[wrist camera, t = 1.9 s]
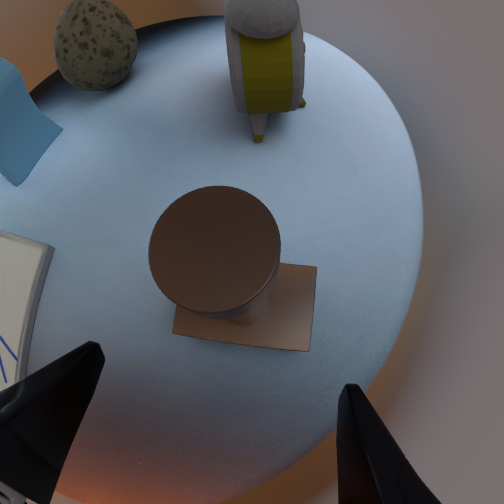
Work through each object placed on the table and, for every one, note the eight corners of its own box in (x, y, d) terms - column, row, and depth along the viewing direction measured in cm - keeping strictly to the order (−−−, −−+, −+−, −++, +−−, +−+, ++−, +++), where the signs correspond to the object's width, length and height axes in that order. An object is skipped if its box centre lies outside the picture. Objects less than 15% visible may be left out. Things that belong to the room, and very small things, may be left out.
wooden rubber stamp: (301, 350, 20) (358, 357, 6) (191, 336, 20) (70, 311, 7) (308, 282, 21) (361, 178, 8) (202, 271, 22) (113, 164, 9)
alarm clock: (238, 77, 29) (222, -37, 15) (297, 74, 29) (300, -40, 14) (241, 152, 25) (216, 0, 11) (316, 148, 25) (338, -2, 11)
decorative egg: (160, 74, 31) (126, -20, 16) (89, 120, 29) (33, 34, 15) (134, 52, 34) (104, -22, 20) (75, 90, 32) (32, 20, 18)
